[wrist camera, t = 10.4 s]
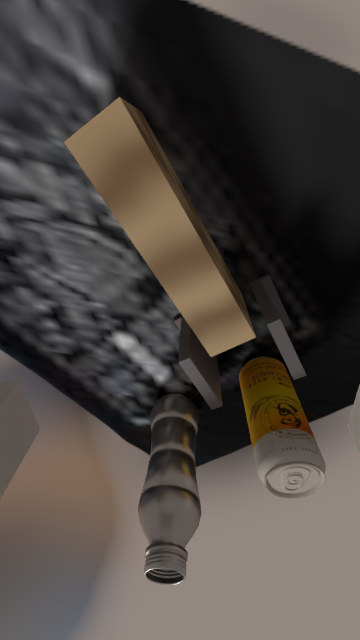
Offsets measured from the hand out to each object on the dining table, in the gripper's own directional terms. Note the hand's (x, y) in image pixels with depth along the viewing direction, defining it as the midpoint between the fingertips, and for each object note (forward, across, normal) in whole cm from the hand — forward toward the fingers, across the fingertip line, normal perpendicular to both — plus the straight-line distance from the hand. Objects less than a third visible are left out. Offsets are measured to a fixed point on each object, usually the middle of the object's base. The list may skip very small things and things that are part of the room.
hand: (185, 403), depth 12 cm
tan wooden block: (+22, -1, +2) cm, 23 cm away
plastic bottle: (+23, -4, -23) cm, 33 cm away
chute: (+22, +4, -9) cm, 25 cm away
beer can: (+23, +8, -17) cm, 30 cm away
